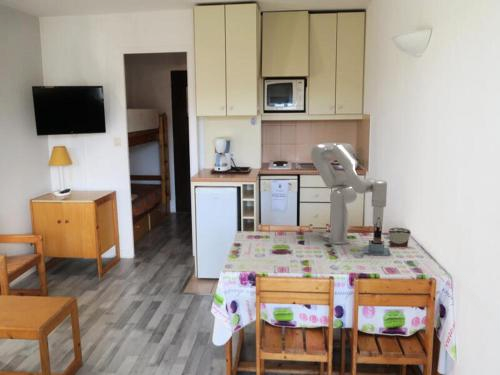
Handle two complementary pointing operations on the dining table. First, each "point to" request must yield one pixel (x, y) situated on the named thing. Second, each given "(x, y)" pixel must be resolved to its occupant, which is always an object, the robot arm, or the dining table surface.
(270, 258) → the dining table surface
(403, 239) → the food container
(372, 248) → the cup bracket
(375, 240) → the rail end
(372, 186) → the robot arm
